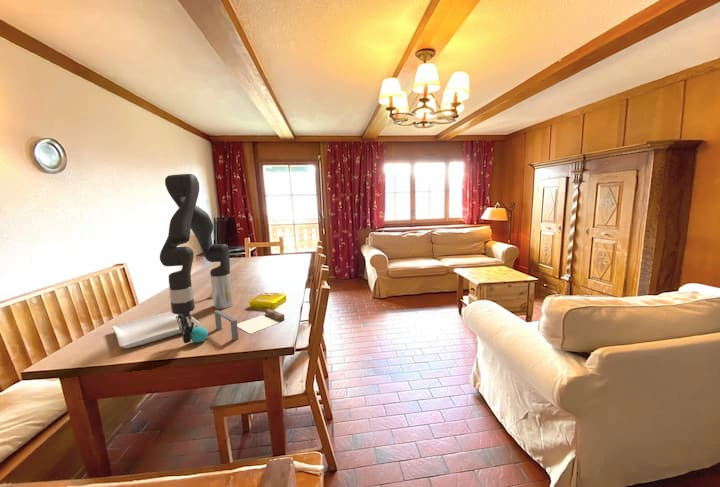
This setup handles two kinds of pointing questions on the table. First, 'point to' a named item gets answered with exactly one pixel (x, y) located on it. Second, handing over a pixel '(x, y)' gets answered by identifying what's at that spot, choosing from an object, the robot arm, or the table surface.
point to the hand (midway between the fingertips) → (187, 341)
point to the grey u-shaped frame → (233, 321)
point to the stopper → (274, 314)
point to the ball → (198, 334)
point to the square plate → (148, 329)
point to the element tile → (267, 301)
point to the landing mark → (256, 324)
